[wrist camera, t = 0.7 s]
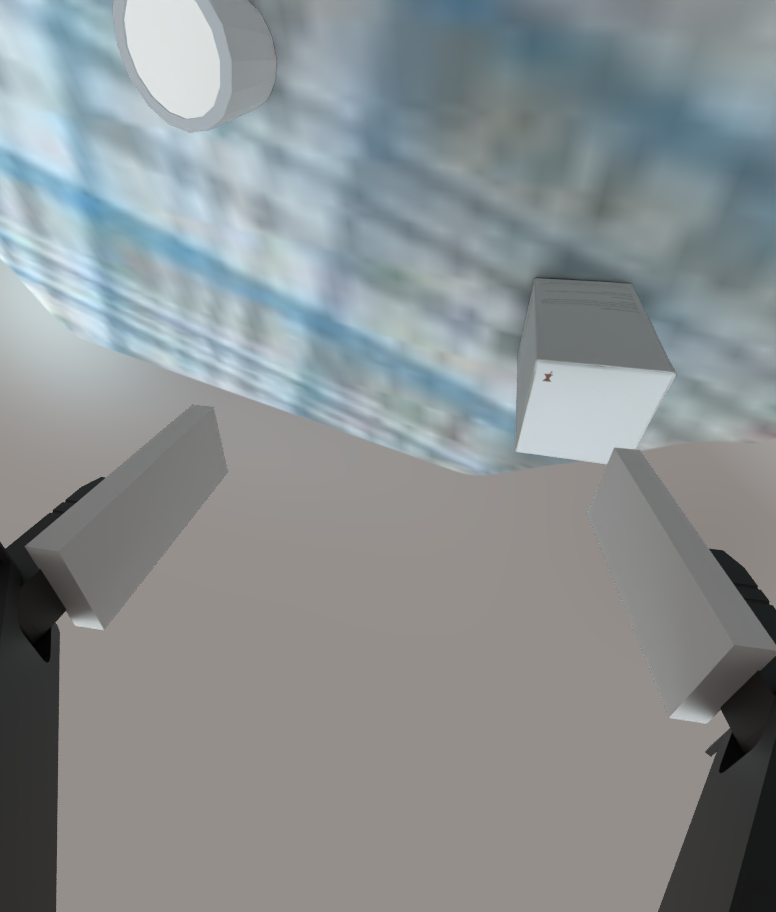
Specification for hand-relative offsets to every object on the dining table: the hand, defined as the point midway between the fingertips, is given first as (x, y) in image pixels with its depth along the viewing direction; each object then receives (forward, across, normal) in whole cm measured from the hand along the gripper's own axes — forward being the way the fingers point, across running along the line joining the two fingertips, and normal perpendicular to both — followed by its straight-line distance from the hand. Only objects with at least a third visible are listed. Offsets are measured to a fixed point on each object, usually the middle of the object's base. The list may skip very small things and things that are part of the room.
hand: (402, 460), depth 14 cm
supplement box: (+24, +11, -1) cm, 27 cm away
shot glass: (+24, -14, +14) cm, 32 cm away
